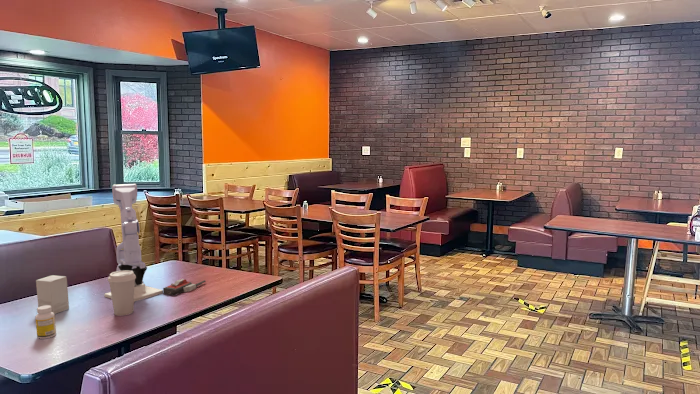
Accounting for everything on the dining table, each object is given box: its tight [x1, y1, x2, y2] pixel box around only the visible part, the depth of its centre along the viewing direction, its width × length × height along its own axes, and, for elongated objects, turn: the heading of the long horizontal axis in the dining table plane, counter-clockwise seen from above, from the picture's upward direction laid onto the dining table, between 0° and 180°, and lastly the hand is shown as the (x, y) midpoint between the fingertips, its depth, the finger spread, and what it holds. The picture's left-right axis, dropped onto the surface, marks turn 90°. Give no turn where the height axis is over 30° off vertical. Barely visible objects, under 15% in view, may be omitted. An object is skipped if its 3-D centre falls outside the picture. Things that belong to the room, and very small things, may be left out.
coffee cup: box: [107, 270, 136, 317], centre depth 188 cm, size 10×10×15 cm
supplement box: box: [35, 274, 70, 315], centre depth 191 cm, size 7×7×13 cm
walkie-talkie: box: [162, 278, 207, 296], centre depth 218 cm, size 9×4×20 cm
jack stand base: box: [103, 282, 163, 303], centre depth 210 cm, size 16×16×4 cm
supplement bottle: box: [34, 305, 57, 340], centre depth 167 cm, size 5×5×10 cm
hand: (133, 282), depth 210 cm, fingers open, 7 cm apart
